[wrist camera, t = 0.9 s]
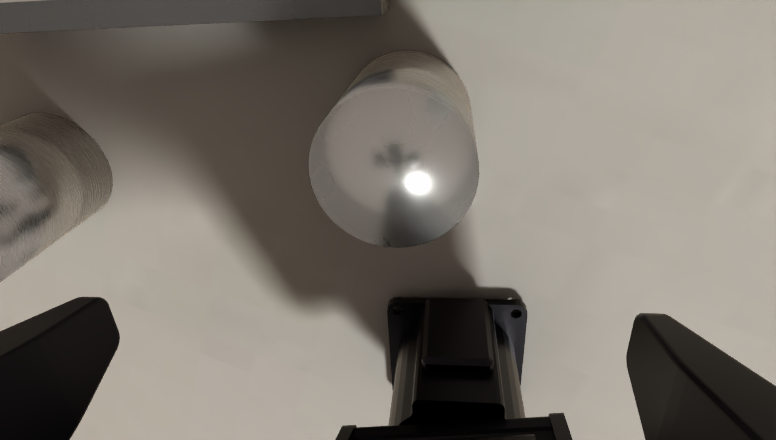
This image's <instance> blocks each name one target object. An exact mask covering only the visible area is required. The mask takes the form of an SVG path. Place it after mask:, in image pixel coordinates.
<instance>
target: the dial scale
mask: <svg viewBox="0 0 776 440" xmlns="http://www.w3.org/2000/svg"><path fill="white" fill-rule="evenodd" d="M388 9H389V0H0V33H20V32H41V31H62V30H82V29H103V28H124V27H145V26H166V25H187V24H208V23H228V22H249V21H270V20H291V19H312V18H333V17H353V16H374V15H382V14H383V13H384V12H386V11H387V10H388Z"/></svg>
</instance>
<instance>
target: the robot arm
mask: <svg viewBox="0 0 776 440" xmlns="http://www.w3.org/2000/svg"><path fill="white" fill-rule="evenodd" d="M394 307H401V308H402V310H396V309H395V308H394ZM516 309H517V310H520V311H519V312H517V313H513V312H511V311H513V310H516ZM387 313H388V328H389V342H390V357H391V371H392V386H393V396H392V403H391V411H390V419H389V426H375V427H358V428H357V427H356V425H348V426H342V428H341V430H340V432H339V434H338V436H337V438H336V440H572V437H571V434H570V431H569V428H568V425H567V422H566V419H565V416H564V413H552V414H549V416H548V417H531V418H525V413H524V407H523V401H522V395H521V389H520V385H521V375H522V364H523V354H524V344H525V333H526V323H527V310H526V305H525V304H524V303H523V302H522V301H519V300H497V299H468V298H403V297H397V298H393V299H391V300H390V301H389V304H388V310H387ZM119 339H120V336H119V331H118V328H117V326H116V323H115V320H114V318H113V315H112V312H111V310H110V307H109V305H108V303H107V301H106V300H105V299H103V298H100V297H78V298H76V299H73V300H71V301H69V302H66V303H64V304H62V305H60V306H57V307H55V308H53V309H50V310H48V311H46V312H44V313H41V314H39V315H37V316H34V317H32V318H30V319H28V320H25V321H23V322H21V323H18V324H16V325H14V326H12V327H9V328H7V329H5V330H2V331H0V440H70V438H71V437H72V435H73V433H74V432H75V430H76V428H77V427H78V425H79V423H80V421H81V419H82V417H83V415H84V414H85V412H86V410H87V408H88V406H89V404H90V402H91V400H92V398H93V396H94V394H95V392H96V390H97V388H98V386H99V384H100V382H101V380H102V378H103V376H104V374H105V372H106V370H107V368H108V366H109V364H110V362H111V360H112V358H113V356H114V354H115V352H116V350H117V348H118V345H119ZM626 359H627V368H628V373H629V377H630V380H631V384H632V388H633V392H634V396H635V400H636V404H637V408H638V412H639V416H640V420H641V424H642V428H643V431H644V435H645V439H646V440H776V386H775V385H773V384H772V383H770V382H769V381H767V380H766V379H764V378H763V377H761V376H760V375H758V374H757V373H755V372H753V371H752V370H750V369H749V368H747V367H746V366H744V365H743V364H741V363H740V362H738V361H737V360H735V359H734V358H732V357H731V356H729V355H728V354H726V353H725V352H723V351H722V350H720V349H719V348H717V347H716V346H714V345H713V344H711V343H709V342H708V341H706V340H705V339H703V338H702V337H700V336H699V335H697V334H696V333H694V332H693V331H691V330H690V329H688V328H687V327H685V326H684V325H682V324H681V323H679V322H678V321H676V320H675V319H673V318H672V317H670V316H668V315H666V314H654V313H640V314H639V315H637V316H636V318H635V320H634V323H633V328H632V332H631V337H630V341H629V346H628V350H627V358H626Z"/></svg>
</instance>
